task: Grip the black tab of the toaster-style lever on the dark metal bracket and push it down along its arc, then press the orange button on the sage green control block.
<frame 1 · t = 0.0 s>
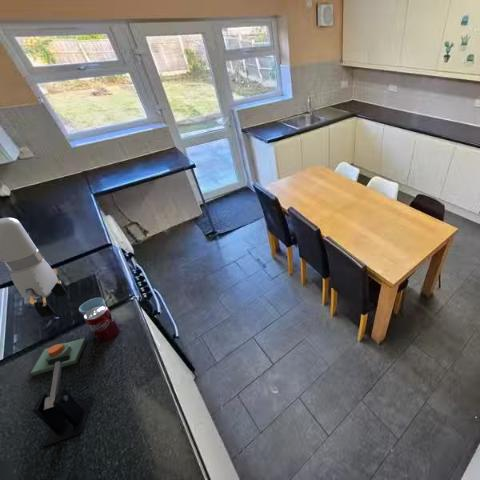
hand: (55, 304, 86), 22 cm above the worktop, tool pointing down, fingers open, 9 cm apart
toaster bracket: (71, 423, 75), on the worktop
start button: (55, 350, 91), point 4 cm above the worktop, slide at 0.1 cm
cup: (103, 324, 107), on the worktop
button block: (62, 358, 93), on the worktop
toaster lever: (55, 382, 73), point 12 cm above the worktop, hinge at 25.0°
soda can: (110, 336, 102), on the worktop
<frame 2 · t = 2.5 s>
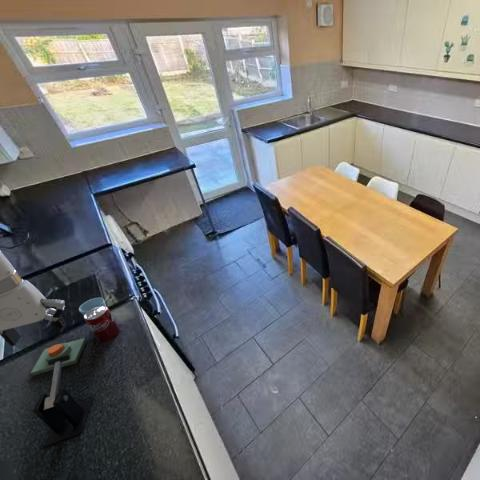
hand: (39, 335, 71), 25 cm above the worktop, tool pointing down, fingers open, 9 cm apart
nothing on the worktop moved.
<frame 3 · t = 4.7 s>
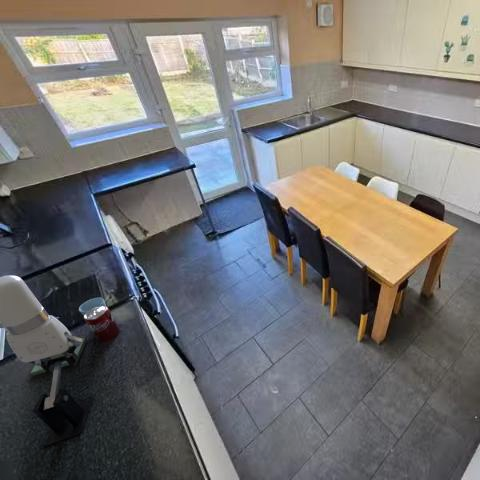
hand: (63, 365, 77), 12 cm above the worktop, tool pointing down, fingers closed on toaster lever, 4 cm apart
toaster lever: (55, 382, 73), point 12 cm above the worktop, hinge at 25.0°, touching gripper
everything else where it was.
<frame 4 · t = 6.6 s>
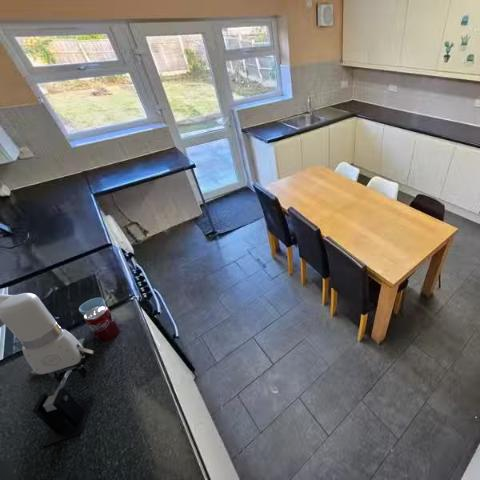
hand: (75, 376, 81), 6 cm above the worktop, tool pointing down, fingers closed on toaster lever, 4 cm apart
toaster lever: (61, 386, 74), point 9 cm above the worktop, hinge at -6.2°, touching gripper
everything else where it was.
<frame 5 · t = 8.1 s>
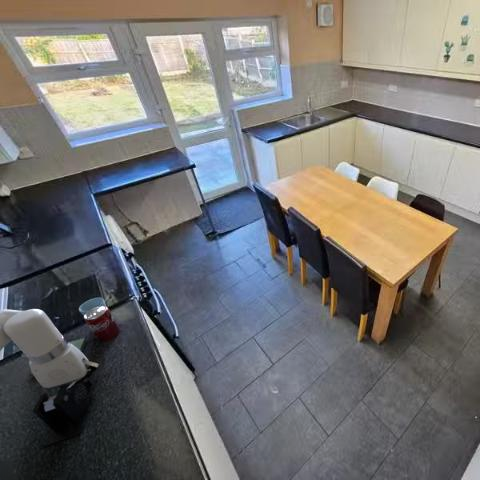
hand: (81, 389, 82), 2 cm above the worktop, tool pointing down, fingers closed on toaster lever, 4 cm apart
toaster lever: (64, 392, 75), point 8 cm above the worktop, hinge at -29.2°, touching gripper
everything else where it was.
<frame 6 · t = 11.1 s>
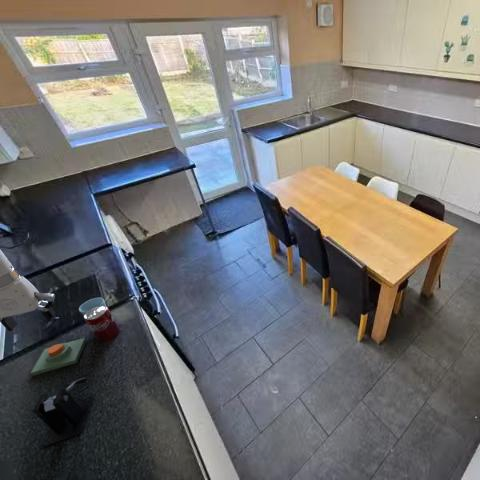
hand: (33, 323, 84), 18 cm above the worktop, tool pointing down, fingers open, 9 cm apart
toaster lever: (64, 392, 75), point 8 cm above the worktop, hinge at -29.3°
everything else where it was.
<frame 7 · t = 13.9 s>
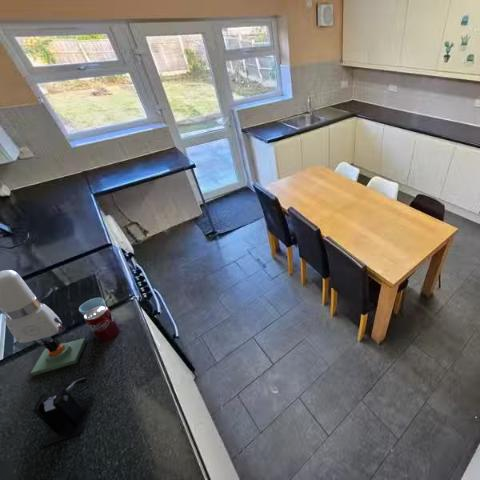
hand: (55, 347, 91), 5 cm above the worktop, tool pointing down, fingers closed
start button: (55, 350, 91), point 4 cm above the worktop, slide at 0.1 cm, touching gripper
everything else where it was.
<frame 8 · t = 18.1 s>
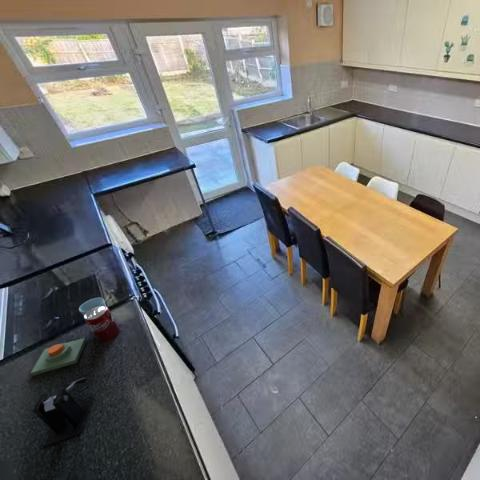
start button: (55, 350, 91), point 4 cm above the worktop, slide at 0.1 cm
everything else where it was.
at the end: toaster lever at -29° (first picture: +25°); start button pushed in 1.1 cm at the most during the clip, back to where it started at the end; start button slide at 0.1 cm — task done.
